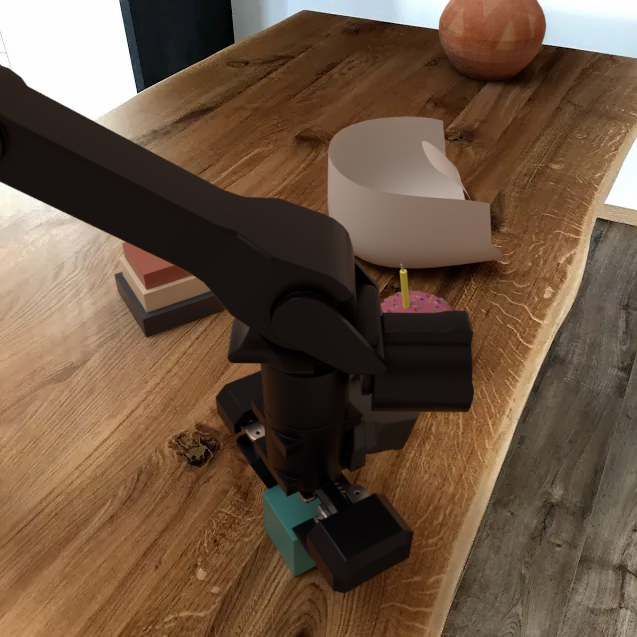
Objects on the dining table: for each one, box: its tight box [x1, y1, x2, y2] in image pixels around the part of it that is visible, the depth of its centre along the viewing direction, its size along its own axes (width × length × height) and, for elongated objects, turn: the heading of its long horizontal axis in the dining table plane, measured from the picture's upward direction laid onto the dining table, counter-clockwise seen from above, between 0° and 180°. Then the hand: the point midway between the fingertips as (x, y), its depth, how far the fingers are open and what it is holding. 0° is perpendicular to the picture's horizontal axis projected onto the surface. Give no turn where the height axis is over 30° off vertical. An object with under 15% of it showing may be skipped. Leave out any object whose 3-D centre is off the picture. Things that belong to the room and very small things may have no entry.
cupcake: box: [380, 264, 456, 313], centre depth 71 cm, size 9×8×12 cm
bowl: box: [327, 116, 504, 269], centre depth 88 cm, size 20×19×12 cm
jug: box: [438, 0, 547, 82], centre depth 127 cm, size 18×18×20 cm
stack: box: [114, 241, 224, 338], centre depth 80 cm, size 9×9×7 cm
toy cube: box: [261, 485, 322, 577], centre depth 57 cm, size 5×5×5 cm
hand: (306, 531), depth 58 cm, fingers closed on toy cube, 5 cm apart
